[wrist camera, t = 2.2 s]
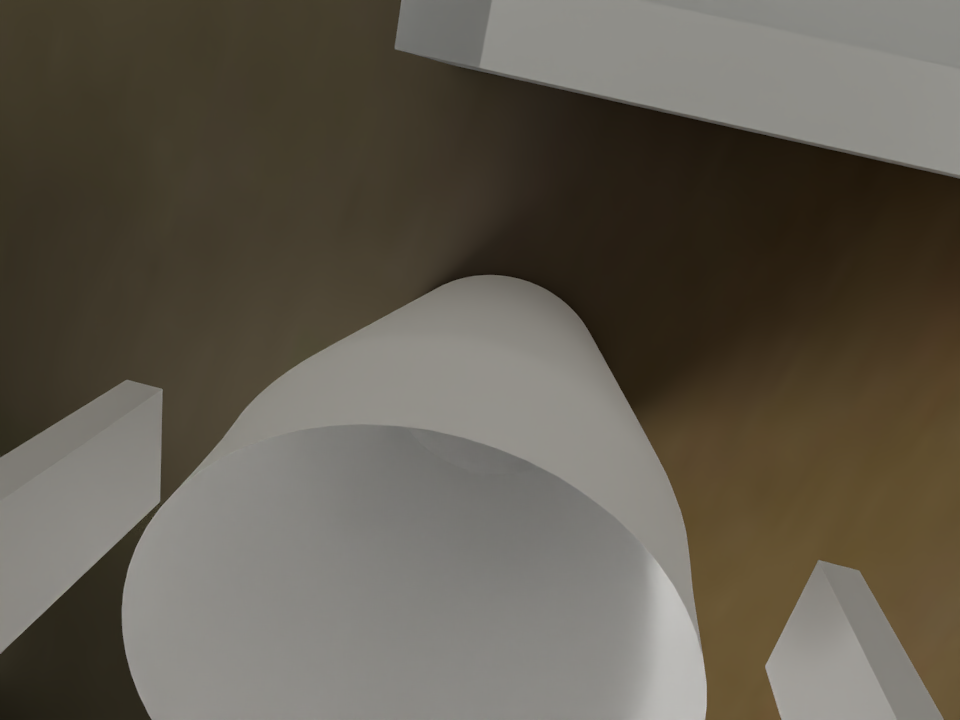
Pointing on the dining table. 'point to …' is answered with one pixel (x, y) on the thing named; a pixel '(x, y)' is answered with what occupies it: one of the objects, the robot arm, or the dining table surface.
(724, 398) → the dining table surface
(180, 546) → the cup
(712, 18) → the bin
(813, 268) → the dining table surface
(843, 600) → the robot arm
